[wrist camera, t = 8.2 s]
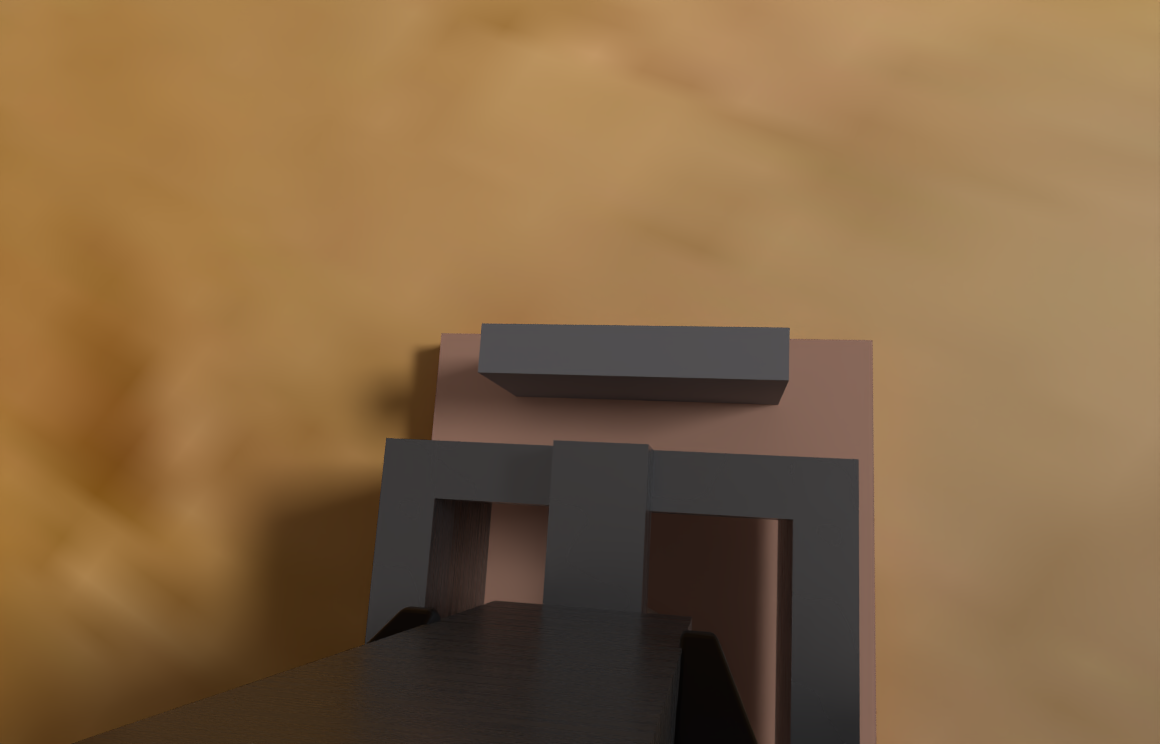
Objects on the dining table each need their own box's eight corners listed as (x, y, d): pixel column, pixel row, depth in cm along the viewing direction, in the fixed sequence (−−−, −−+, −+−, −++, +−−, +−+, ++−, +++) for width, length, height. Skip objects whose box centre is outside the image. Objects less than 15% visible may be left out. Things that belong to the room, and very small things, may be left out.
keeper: (869, 1032, 16) (917, 1197, 12) (400, 952, 18) (309, 1072, 14) (864, 350, 18) (902, 302, 14) (455, 342, 20) (391, 298, 16)
